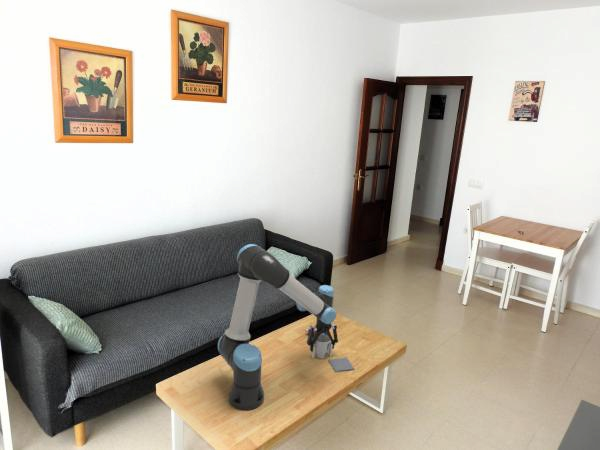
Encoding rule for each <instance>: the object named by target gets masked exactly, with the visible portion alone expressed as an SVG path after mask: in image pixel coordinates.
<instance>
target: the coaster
mask: <svg viewBox="0 0 600 450" xmlns="http://www.w3.org/2000/svg"><path fill="white" fill-rule="evenodd" d="M328 363H329V365H330V366H331V369H333V371H334V373H341V372H342V373H343V372H349V371H354V370H355V367H354V366H353V364H352V363H351V361H350V360H349V359H348V357H340V358H331V359H328Z"/></svg>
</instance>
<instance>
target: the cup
mask: <svg viewBox="0 0 600 450" xmlns="http://www.w3.org/2000/svg"><path fill="white" fill-rule="evenodd" d="M330 342H331V339H330V338H329V336H327V335H319V337H318V339H317V340H316V342H315V344H314V346H315V356H316V357H317V358H318V359H320V360H322V359H326V358H327V356H328V355H329V347H330Z"/></svg>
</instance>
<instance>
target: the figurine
mask: <svg viewBox="0 0 600 450" xmlns="http://www.w3.org/2000/svg"><path fill="white" fill-rule="evenodd" d="M316 330H317V329H315V331H314V334H313V337H314V335H315V333H316ZM304 332H306V333H307V336H309V333H310V327H308V328H307V329H305V331H304ZM320 335H327V336H328V334H327V333H322V334H320ZM313 337H312V338H313Z"/></svg>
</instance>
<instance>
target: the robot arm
mask: <svg viewBox="0 0 600 450" xmlns="http://www.w3.org/2000/svg"><path fill="white" fill-rule="evenodd" d="M236 261H237V264H238V270H237V275H238V277H239V278H240V279H239V282H238V288H237V292H236V297H235V301H234V305H233V309H232V314H231V319H230V324H229V327H228V328H226V330H224V333H223V334H222V335H220V337H219V339H218V342H217V351H218V353H219V354H220V356H221V357H222V359H223V360H224V361H225V362H226V363H227V364H228V366H229V367H230V368H231V370H232V371H233V373H232V374H233V377H232V378H233V379H232V380H233V381H232V384H231V386H230V387H231V388H230V390H229V393H228V402H229V404H230V405H231V406H232V407H233V408H234V409H237V410H241V411H251V410H255V409H256V408H259V407H260V406H262V405H263V403H264V401H265V392H264V389H263V386H262V363H263V357H262V352H261V349H260V348H259V347H258V346H256V345H254V344H252V343H250V340H251V334H250V332H249V329H250V324H251V322H252V316H253V312H254V308H255V303H256V299H257V296H258V295H257V294H258V291H259V286H260V282H264V283H266V284H267V285H269V286H270V287H272V288H273V289H275V290H280V291H281V292H283V294H285V295H287V296H288V297H289V298H290V299H292V300H293V301H295V302H296V303H295V304H296V308H297V309H298V310H299V311H300V312H306V311H308V312H309V313H310V314H312V315H313V316H314V317H316V324H315V325H314V326H313V325H310V327H309V328H310V333H309V336H308V335H307V336H308V337H307V341H306V344H307V345H308V346H309V351H310V352H311V353H310V356H311V357H312V359H314V358H315V354H316V352H315V342H316V340H317V339H318V337H319V335H320V334H322V333H327V334H328V336H329V338H330V339H331V341H330V347H329V351H328V355H329V357H332V354H333V350H334V349H335V345H336V343H338V342H339V338H338V331H337V328H338V326H337V324H336V323H333V322H334V321H335V320H336V318H337V312H336V310H335V309H334V298H335V296H334V295H335V293H334V292H335V288H333V286H330V285H327V284H323V285H320V286H319V287H318V291H315V292H312V291H311V290H310V289H309V288H307V287H306V286H305V285H303V284H302V283H301V282H300V281H299V280H297V278H295V277H294V276H292V275H291V272H290V270H289V269H288V268H287V267H286V266H285V265H283V264H282V262H280V261H279V260H278V259H277V258H276V257H275V256H274V255H273V254H271V253H270V252H269V251H267V250H266V249H264V248H263V247H261V246H259V245H257V244H255V243H249V244H247V245H244V246H243V247H241V248H240V249H239V251H238V252H237V255H236ZM332 323H333V324H332ZM315 329H317V330H316V333H315V335H314V337H313V334H314V331H315ZM331 329H332V333H333V335H332V334H331V332H330V330H331ZM312 337H313V338H312Z"/></svg>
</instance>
